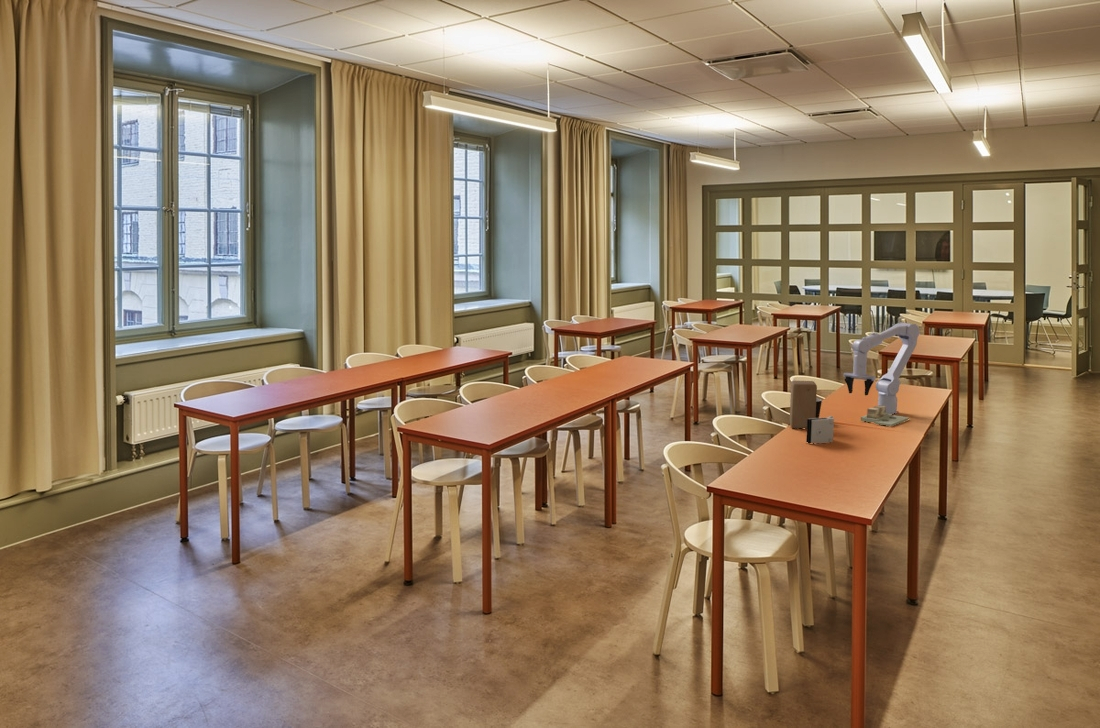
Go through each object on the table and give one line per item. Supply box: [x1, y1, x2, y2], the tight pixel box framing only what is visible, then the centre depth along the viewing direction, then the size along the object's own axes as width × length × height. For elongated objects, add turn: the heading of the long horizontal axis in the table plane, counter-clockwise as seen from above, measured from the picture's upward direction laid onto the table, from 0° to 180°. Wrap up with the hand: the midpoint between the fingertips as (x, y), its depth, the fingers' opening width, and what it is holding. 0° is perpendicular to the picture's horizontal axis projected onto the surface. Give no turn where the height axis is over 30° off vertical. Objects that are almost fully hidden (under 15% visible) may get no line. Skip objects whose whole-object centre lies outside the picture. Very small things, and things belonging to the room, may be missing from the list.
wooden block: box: [789, 380, 818, 430], centre depth 359 cm, size 10×10×20 cm
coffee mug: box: [816, 397, 823, 418], centre depth 373 cm, size 12×9×10 cm
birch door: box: [866, 404, 886, 419], centre depth 373 cm, size 12×4×6 cm, turn 135°
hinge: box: [805, 415, 835, 444], centre depth 331 cm, size 14×5×10 cm, turn 116°
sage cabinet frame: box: [860, 413, 910, 427], centre depth 371 cm, size 20×14×2 cm
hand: (858, 394), depth 384 cm, fingers open, 7 cm apart
